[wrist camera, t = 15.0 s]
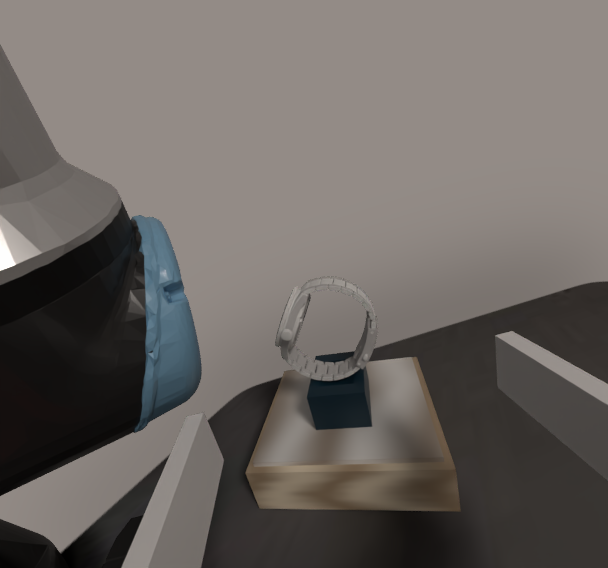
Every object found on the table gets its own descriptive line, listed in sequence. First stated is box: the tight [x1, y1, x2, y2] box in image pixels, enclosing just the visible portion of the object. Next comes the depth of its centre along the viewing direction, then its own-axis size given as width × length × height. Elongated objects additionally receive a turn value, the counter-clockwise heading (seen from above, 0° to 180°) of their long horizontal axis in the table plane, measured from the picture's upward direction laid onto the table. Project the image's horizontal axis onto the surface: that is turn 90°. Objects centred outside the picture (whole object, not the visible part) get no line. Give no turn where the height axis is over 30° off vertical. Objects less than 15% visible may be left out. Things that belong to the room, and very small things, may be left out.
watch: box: [275, 277, 378, 430], centre depth 23 cm, size 6×8×11 cm
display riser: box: [246, 357, 461, 511], centre depth 25 cm, size 14×12×4 cm
